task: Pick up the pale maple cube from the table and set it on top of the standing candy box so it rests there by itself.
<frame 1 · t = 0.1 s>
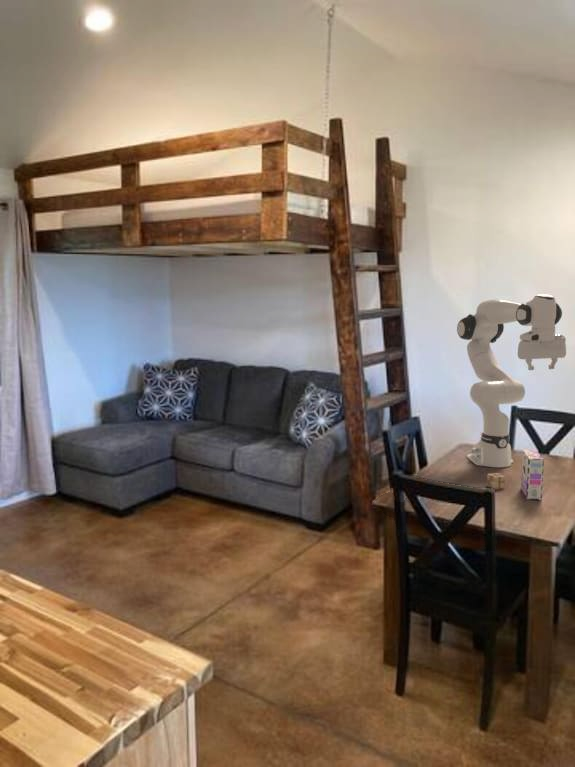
hand: (541, 369, 251), 48 cm above the table, fingers open, 8 cm apart
maple cube: (495, 486, 255), on the table
candy box: (530, 494, 245), on the table
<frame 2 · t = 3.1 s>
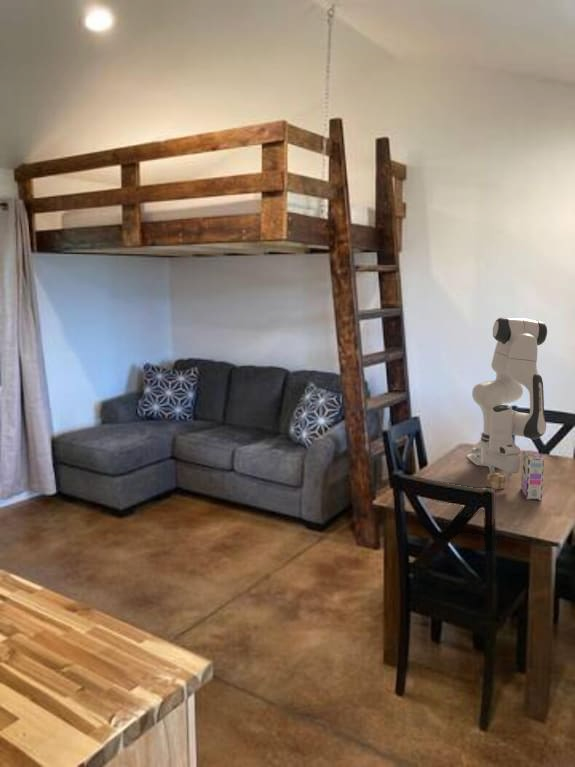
hand: (499, 478, 253), 4 cm above the table, fingers open, 8 cm apart
nothing on the table moved.
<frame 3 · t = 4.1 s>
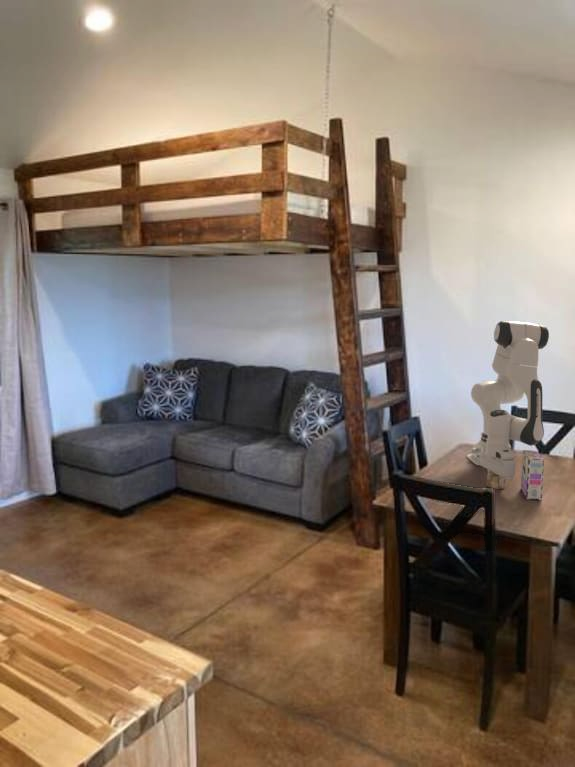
hand: (496, 482, 255), 2 cm above the table, fingers closed on maple cube, 5 cm apart
maple cube: (495, 486, 255), on the table, touching gripper
everything else where it was.
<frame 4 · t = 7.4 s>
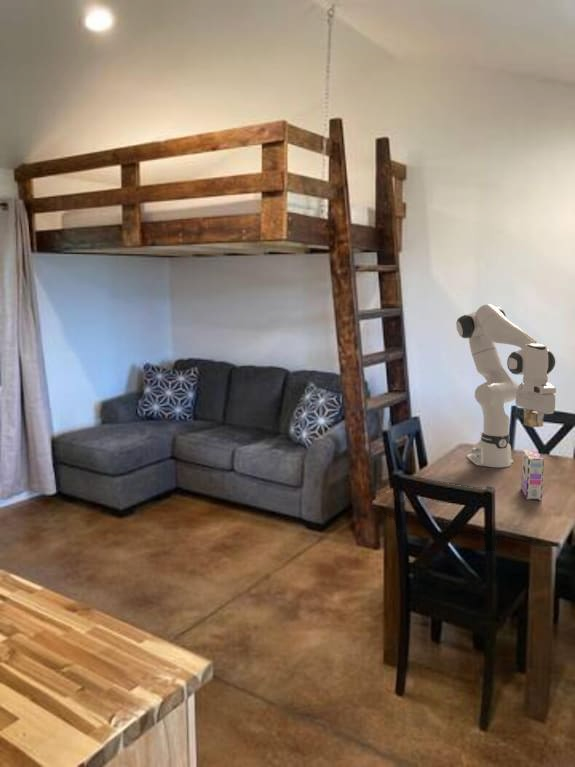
hand: (533, 421, 241), 29 cm above the table, fingers closed on maple cube, 5 cm apart
maple cube: (533, 425, 241), point 28 cm above the table, touching gripper
everything else where it was.
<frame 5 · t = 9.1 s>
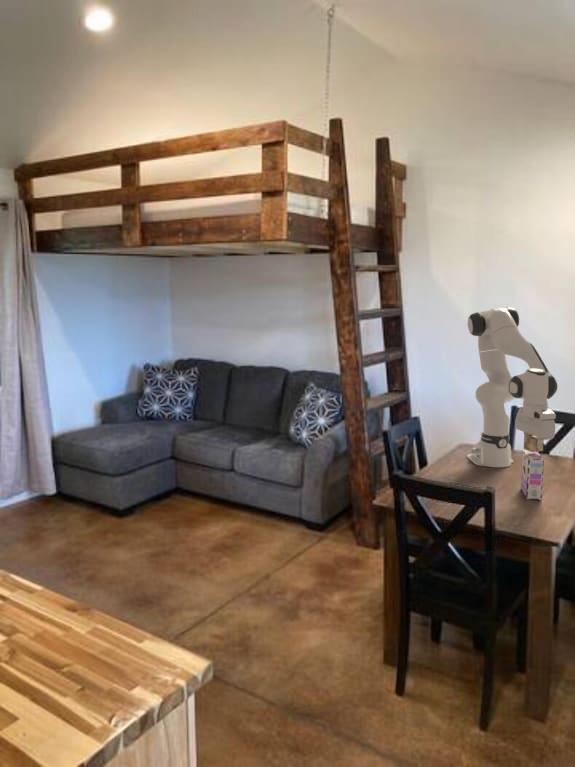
hand: (533, 445, 242), 20 cm above the table, fingers closed on maple cube, 5 cm apart
maple cube: (533, 449, 243), point 18 cm above the table, touching gripper
everything else where it was.
when the fingers open (19 cm above the table, at t = 10.5 s): maple cube stays where it is, resting on candy box.
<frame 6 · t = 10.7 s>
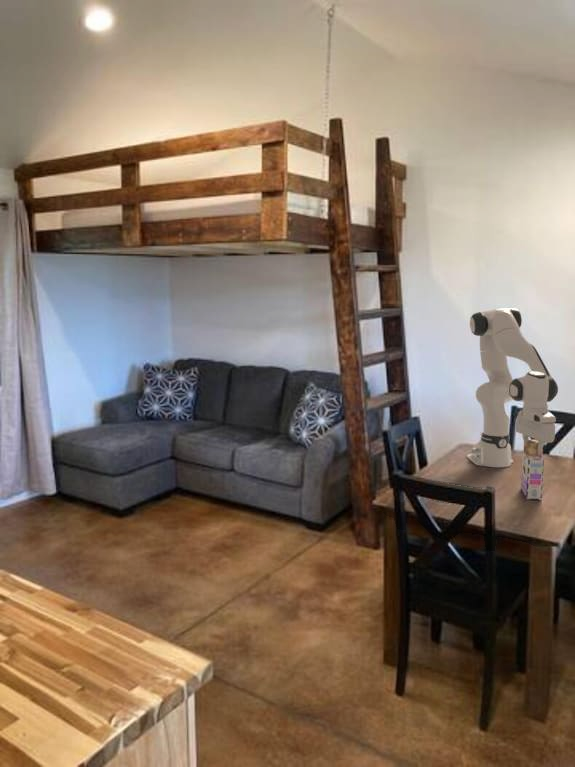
hand: (533, 448, 242), 19 cm above the table, fingers open, 6 cm apart
maple cube: (532, 453, 243), point 16 cm above the table, touching candy box
candy box: (530, 494, 245), on the table, touching maple cube
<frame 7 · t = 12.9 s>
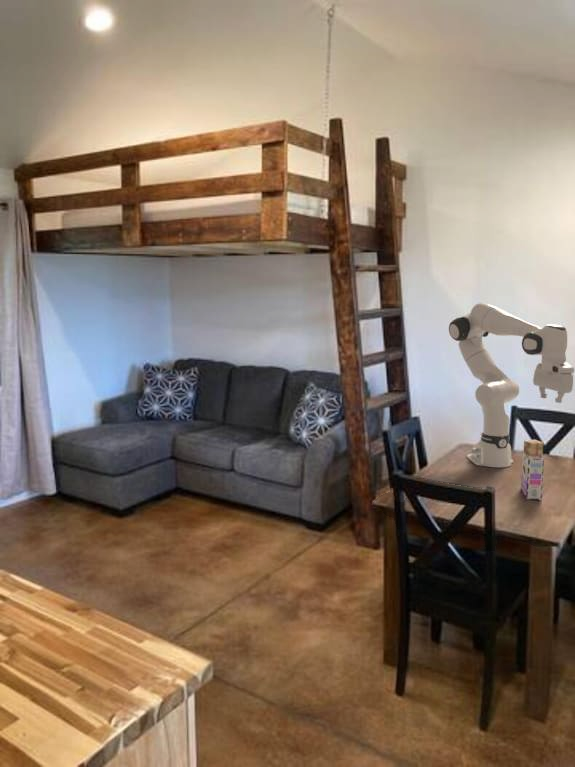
hand: (550, 400, 247), 36 cm above the table, fingers open, 8 cm apart
nothing on the table moved.
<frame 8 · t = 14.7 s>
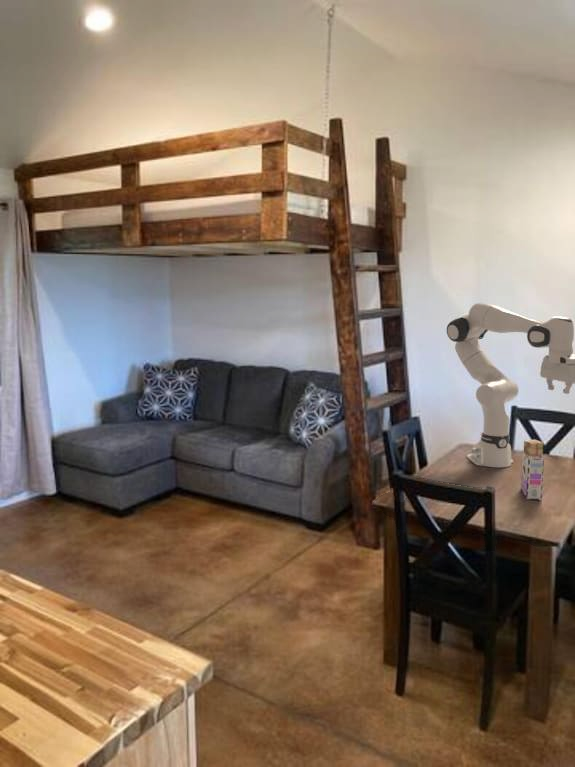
hand: (558, 391, 251), 39 cm above the table, fingers open, 8 cm apart
nothing on the table moved.
at the end: maple cube inside the target area on the candy box (0.0 cm from its centre), point 16.7 cm above the candy box's base; candy box tilted 0°; the gripper is holding nothing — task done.
